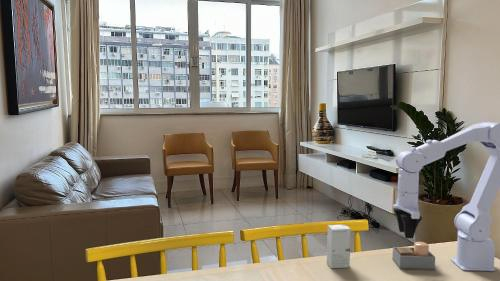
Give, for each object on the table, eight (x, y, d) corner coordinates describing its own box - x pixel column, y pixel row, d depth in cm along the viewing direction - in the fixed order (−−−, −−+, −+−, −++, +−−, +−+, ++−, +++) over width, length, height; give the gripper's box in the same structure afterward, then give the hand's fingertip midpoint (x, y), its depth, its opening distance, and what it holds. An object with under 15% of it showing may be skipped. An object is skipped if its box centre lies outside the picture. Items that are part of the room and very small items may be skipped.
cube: (408, 260, 118) (409, 247, 118) (413, 265, 114) (414, 252, 114) (395, 259, 119) (396, 247, 118) (399, 265, 115) (400, 252, 114)
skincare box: (331, 268, 113) (331, 229, 112) (326, 262, 118) (326, 224, 117) (350, 267, 114) (351, 228, 113) (344, 261, 119) (345, 223, 117)
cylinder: (424, 260, 118) (425, 241, 117) (430, 266, 114) (430, 246, 113) (411, 260, 118) (412, 241, 118) (416, 265, 114) (417, 246, 114)
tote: (425, 260, 119) (425, 247, 119) (434, 269, 113) (435, 257, 112) (392, 259, 120) (392, 247, 120) (399, 269, 113) (400, 256, 113)
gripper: (387, 185, 122) (385, 226, 123) (402, 197, 107) (400, 243, 109) (409, 185, 121) (408, 227, 122) (428, 197, 107) (425, 243, 108)
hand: (406, 234), depth 115 cm, fingers open, 5 cm apart
